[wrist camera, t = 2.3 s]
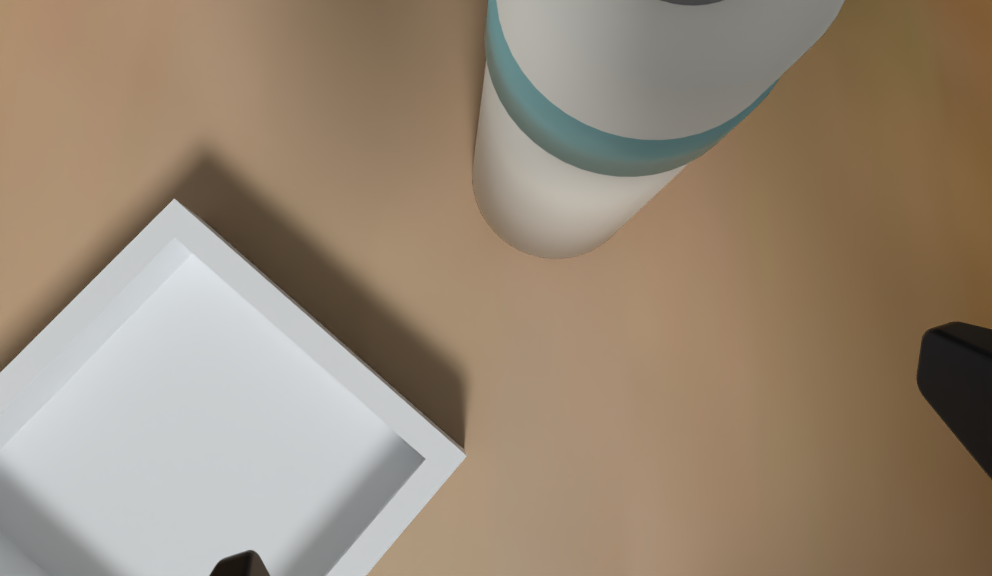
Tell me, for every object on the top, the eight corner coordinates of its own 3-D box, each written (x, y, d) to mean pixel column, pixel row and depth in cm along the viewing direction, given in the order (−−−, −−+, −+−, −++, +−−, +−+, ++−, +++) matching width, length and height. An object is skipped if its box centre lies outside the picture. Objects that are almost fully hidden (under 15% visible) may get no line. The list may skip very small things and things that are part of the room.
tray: (464, 449, 22) (466, 455, 20) (209, 751, 20) (180, 795, 18) (200, 218, 23) (174, 198, 20) (-71, 493, 21) (-133, 504, 19)
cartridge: (671, 172, 24) (981, -134, 10) (564, 297, 23) (745, 148, 9) (544, 64, 24) (677, -378, 10) (433, 184, 23) (418, -124, 9)
